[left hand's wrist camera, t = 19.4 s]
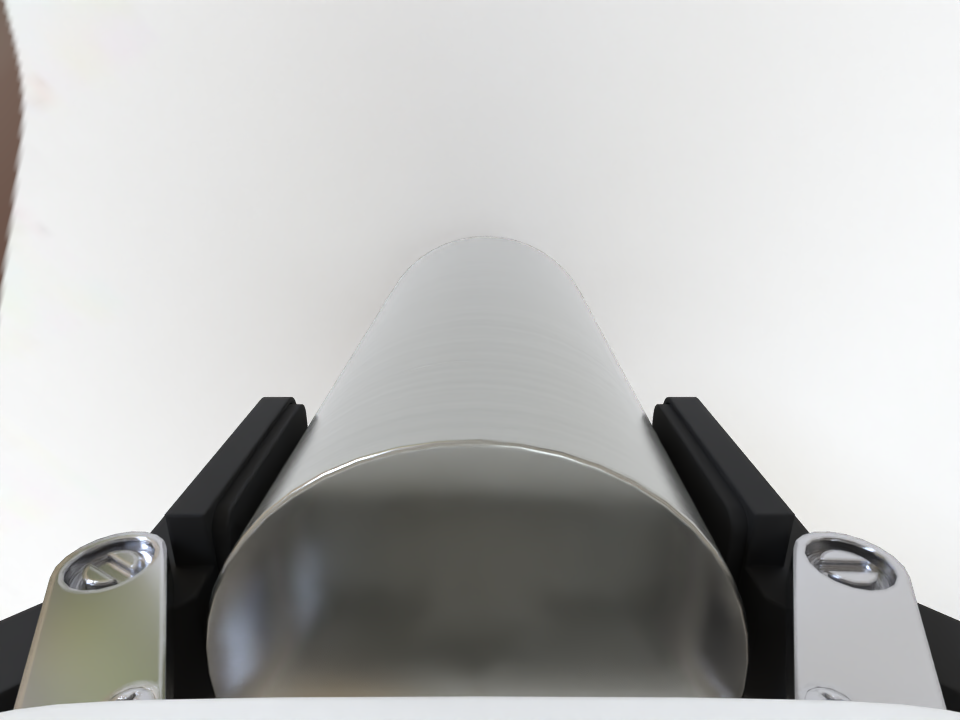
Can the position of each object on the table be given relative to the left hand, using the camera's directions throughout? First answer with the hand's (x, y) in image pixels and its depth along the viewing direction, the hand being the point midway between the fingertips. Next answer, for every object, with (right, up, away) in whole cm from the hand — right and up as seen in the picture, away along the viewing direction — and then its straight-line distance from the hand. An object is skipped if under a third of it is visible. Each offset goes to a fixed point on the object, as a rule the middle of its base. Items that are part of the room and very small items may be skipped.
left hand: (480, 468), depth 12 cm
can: (0, +3, +7) cm, 8 cm away
